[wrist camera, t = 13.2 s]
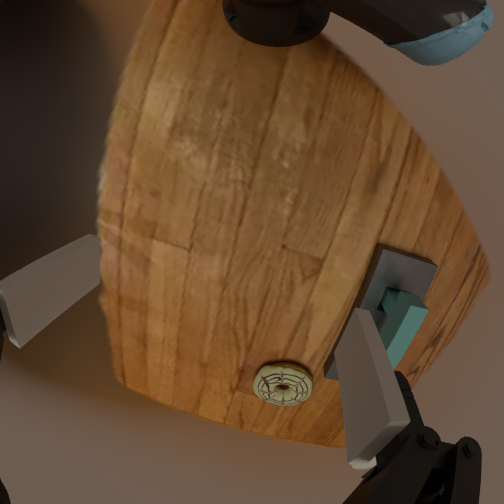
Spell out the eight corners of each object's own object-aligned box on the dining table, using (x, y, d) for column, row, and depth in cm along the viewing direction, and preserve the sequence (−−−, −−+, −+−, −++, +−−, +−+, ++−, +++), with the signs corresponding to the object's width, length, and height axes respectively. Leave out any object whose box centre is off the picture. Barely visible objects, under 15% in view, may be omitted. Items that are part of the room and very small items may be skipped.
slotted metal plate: (377, 242, 37) (383, 249, 34) (430, 259, 37) (438, 266, 34) (323, 366, 46) (324, 378, 43) (371, 374, 45) (374, 385, 42)
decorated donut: (254, 356, 47) (250, 370, 43) (314, 357, 45) (315, 372, 42) (256, 394, 50) (253, 407, 47) (309, 395, 49) (309, 409, 45)
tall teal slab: (387, 273, 38) (410, 305, 29) (403, 277, 38) (428, 309, 29) (349, 354, 44) (358, 394, 35) (364, 356, 44) (375, 396, 34)
